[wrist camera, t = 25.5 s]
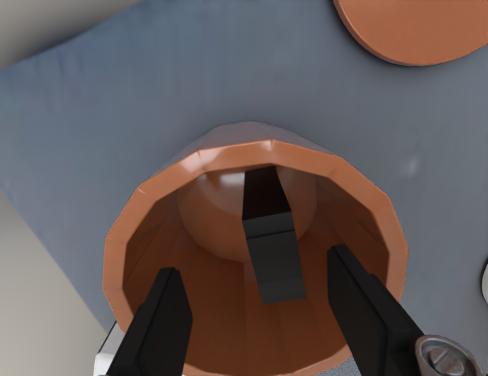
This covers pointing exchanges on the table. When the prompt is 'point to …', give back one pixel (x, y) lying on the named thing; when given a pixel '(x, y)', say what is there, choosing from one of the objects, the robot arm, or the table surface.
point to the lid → (416, 28)
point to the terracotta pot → (237, 254)
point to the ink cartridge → (271, 237)
